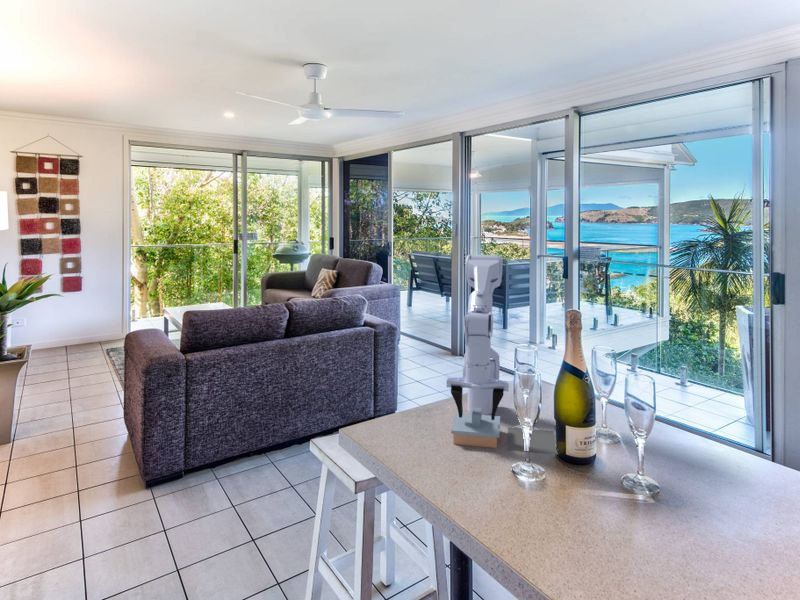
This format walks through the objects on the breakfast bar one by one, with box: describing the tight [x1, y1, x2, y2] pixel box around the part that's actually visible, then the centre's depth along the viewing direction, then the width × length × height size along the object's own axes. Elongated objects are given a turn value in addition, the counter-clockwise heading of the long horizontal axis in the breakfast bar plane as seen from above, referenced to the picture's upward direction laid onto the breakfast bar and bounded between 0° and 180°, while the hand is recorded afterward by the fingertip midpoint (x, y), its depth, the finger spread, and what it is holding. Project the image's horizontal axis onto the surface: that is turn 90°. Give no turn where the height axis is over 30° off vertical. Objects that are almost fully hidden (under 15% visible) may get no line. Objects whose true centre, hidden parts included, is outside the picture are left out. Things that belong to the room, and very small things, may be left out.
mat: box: [507, 426, 559, 455], centre depth 118 cm, size 13×11×1 cm
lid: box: [450, 407, 501, 439], centre depth 119 cm, size 11×11×4 cm
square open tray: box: [452, 434, 498, 449], centre depth 119 cm, size 10×10×4 cm
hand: (476, 417), depth 119 cm, fingers open, 7 cm apart
